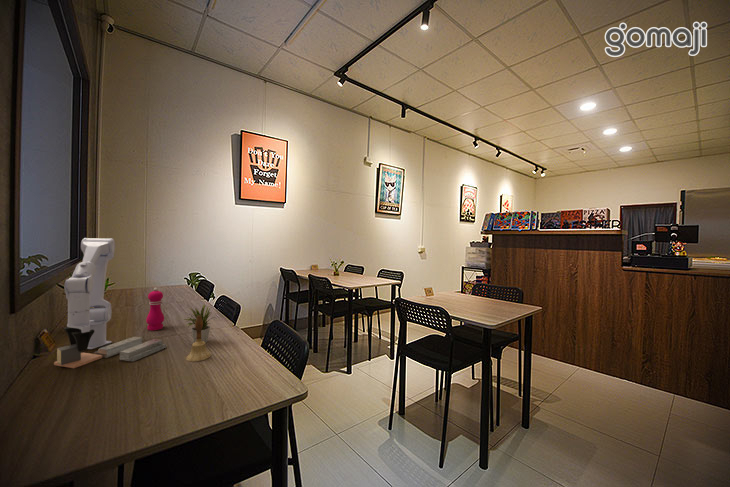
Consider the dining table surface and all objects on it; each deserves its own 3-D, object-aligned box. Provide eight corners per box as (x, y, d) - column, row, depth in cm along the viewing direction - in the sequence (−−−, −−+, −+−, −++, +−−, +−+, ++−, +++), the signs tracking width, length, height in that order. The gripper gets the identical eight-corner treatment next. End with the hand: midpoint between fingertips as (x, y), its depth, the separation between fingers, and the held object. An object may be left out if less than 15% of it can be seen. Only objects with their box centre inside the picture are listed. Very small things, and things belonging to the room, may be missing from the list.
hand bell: (181, 358, 112) (181, 316, 112) (202, 351, 120) (202, 311, 119) (194, 363, 108) (195, 320, 108) (215, 355, 116) (216, 315, 115)
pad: (53, 365, 104) (53, 362, 104) (83, 355, 113) (83, 352, 113) (73, 368, 102) (73, 365, 102) (102, 357, 111) (102, 355, 111)
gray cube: (56, 362, 104) (56, 348, 104) (76, 357, 108) (76, 343, 108) (60, 365, 102) (60, 350, 102) (80, 360, 106) (80, 346, 106)
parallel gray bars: (94, 355, 112) (94, 348, 112) (130, 343, 126) (130, 335, 126) (132, 361, 108) (133, 353, 108) (166, 347, 122) (166, 340, 122)
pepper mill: (154, 331, 141) (155, 289, 140) (142, 330, 142) (142, 288, 141) (167, 327, 148) (168, 286, 147) (155, 325, 149) (156, 285, 149)
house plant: (183, 337, 134) (183, 301, 133) (217, 334, 140) (218, 299, 139) (178, 349, 121) (179, 309, 120) (216, 344, 127) (217, 306, 126)
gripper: (101, 311, 106) (100, 349, 107) (86, 305, 114) (86, 340, 114) (74, 316, 100) (74, 355, 101) (60, 308, 108) (60, 345, 108)
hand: (78, 348), depth 107 cm, fingers open, 7 cm apart
